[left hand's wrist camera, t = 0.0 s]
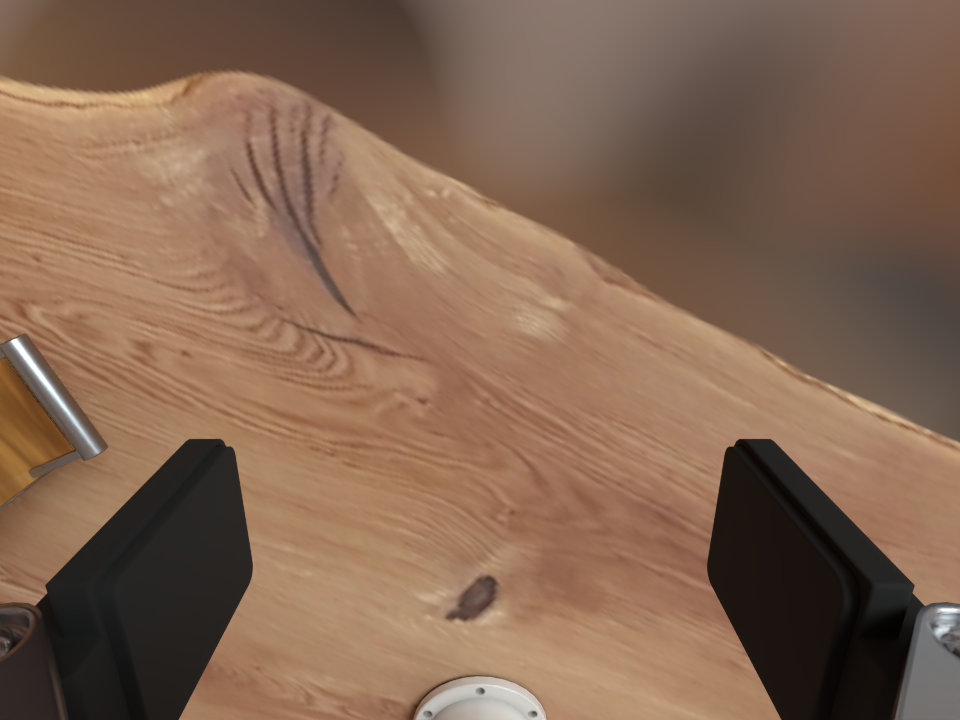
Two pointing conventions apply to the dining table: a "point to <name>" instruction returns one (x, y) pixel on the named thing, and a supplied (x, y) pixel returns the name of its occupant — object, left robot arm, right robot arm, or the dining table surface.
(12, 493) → the drawer
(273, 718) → the dining table surface
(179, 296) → the dining table surface
